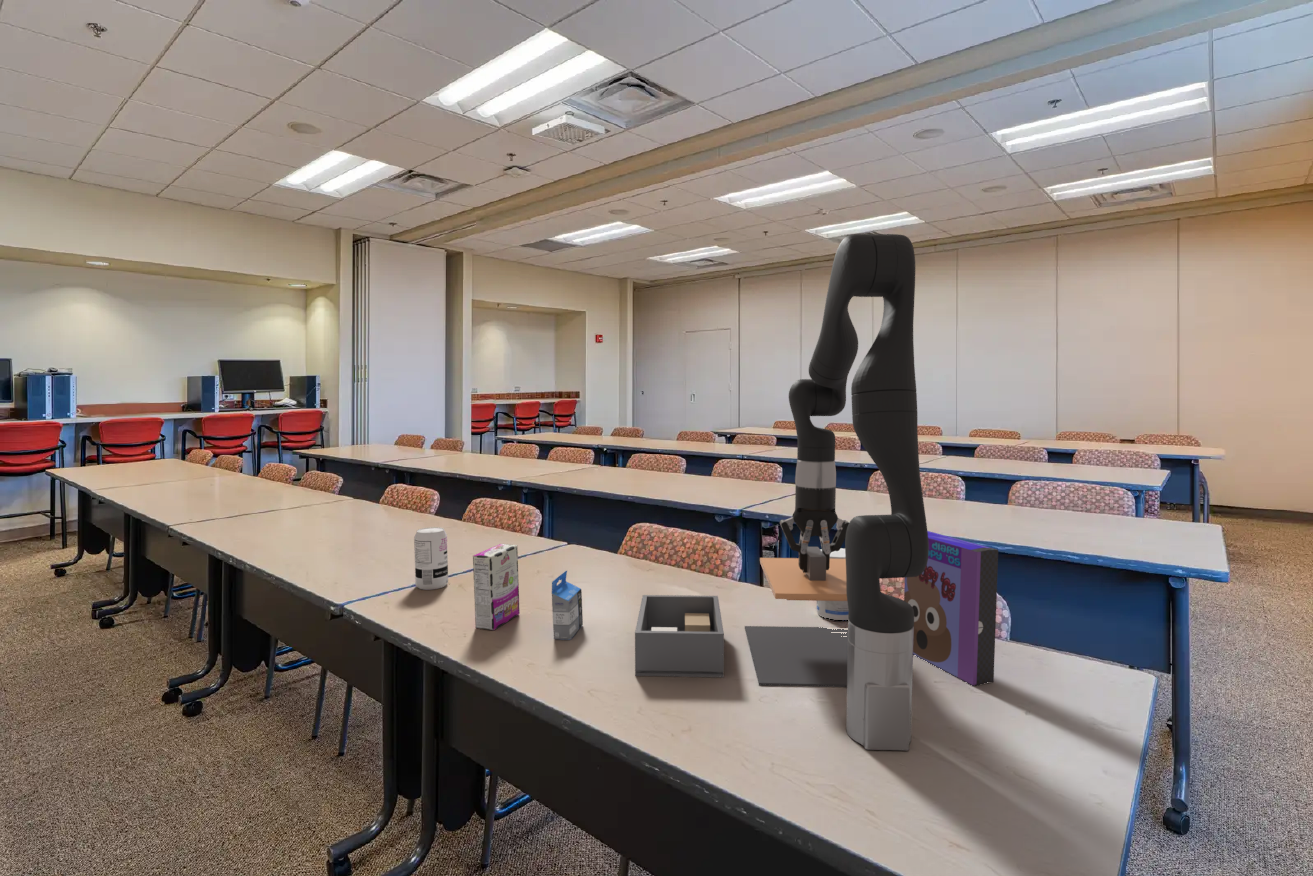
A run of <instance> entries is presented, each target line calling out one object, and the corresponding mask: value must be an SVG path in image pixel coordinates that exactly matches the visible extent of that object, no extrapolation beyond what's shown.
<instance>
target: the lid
mask: <svg viewBox="0 0 1313 876" xmlns="http://www.w3.org/2000/svg"><path fill="white" fill-rule="evenodd" d="M806 553H807V573H803V571H802V570H801V569H800V568H799V557H798V558H797V557H759V564H760V565H761V568H762V571H763V573H764V576H765V578H766V580H767V583H768V585H769V587H770V590H771V592H772V594H773V598H774V600H786V601H808V602H809V601H813V602H814V601H816V602H817V601H847V593H846V559H830V562H829V563H830V564H829V570H826V556H825V555H824V554H823V553H822V551H821V550H820V547H819V546H808V548H807V552H806Z"/></svg>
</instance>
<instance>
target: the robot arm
mask: <svg viewBox="0 0 1313 876" xmlns="http://www.w3.org/2000/svg"><path fill="white" fill-rule="evenodd" d="M829 277H830V278H829V282H828V288H827V293H826V298H825V305H824V312H823V317H822V323H821V328H820V333H819V337H818V339H817V343H816V345H815V348H814V349H813V350H814V351H813V352H812V353H813V354H812V356H811V360H810V361H809V364H808V375H809V377H810V378H804V379H797V380H795V381H794V382H793V383H792V385H791V386H790V387H789V391H788V402H789V407H790V411H791V413H792V416H793V421H794V424H795V431H796V437H797V452H796V453H797V457H796V458H797V460H796V467H795V477H794V482H795V492H794V493H795V498H794V499H795V500H794V501H795V502H794V503H795V506H794V512H793V514H792V515H791V516H792V517H789V518H787V519H781V520H780V521H779V524H780V527H781V529H782V532H783V535H784V536H785V538H786V541H787V544H788V546H789V548H790V549H791V550H792V551H795V552H797V553H798V558H799V568H800V569H801V570H802V571H803V573H807V553H806V552H807V548H808V547H809V543H810V541H811V537H819V540H820V546H821V549H822V553H823V554H824V555H825V556H826V570H829V564H830V563H829V562H830V553H831V552H834V551H839V550H840V548H842V546H843V544H844V545H845V546H844V549H845V556H846V593H847V602H848V621H847V622H848V623H847V625H848V658H847V687H846V718H845V720H846V724H845V725H846V726H845V730H846V733H847V735H848V736H849V737H850V739H852V740H854V741H855V742H856V743H859V744H861V745H862V746H863V748H864V749H865V750H869V751H870V750H871V751H872V750H873V751H874V750H879V751H909V750H910V743H911V740H912V718H913V717H912V709H913V705H912V702H913V667H914V666H913V665H914V659H913V658H914V655H913V638H914V610H913V608H912V606H911V605H910V604H908V603H907V602H905V601H904V599H901V598H899V597H896V596H893V595H890V594H887V593H884V592H882V590H881V585H880V582H881V581H880V579H899V578H900V579H901V578H904V579H905V577H915V576H919V575H920V574H922V573H923V571H924V570H925V568H926V565H927V562H928V553H929V542H928V532H927V531H928V525H927V524H928V523H927V519H926V518H927V517H926V510H925V509H926V508H925V502H924V495H923V489H922V488H923V487H922V481H921V480H922V479H921V471H920V469H921V468H920V457H919V456H920V455H919V453H920V452H919V436H918V433H919V431H918V427H919V426H918V398H917V397H918V396H917V394H918V393H917V381H916V372H915V371H916V370H915V369H916V368H915V348H914V346H915V345H914V314H915V295H916V293H915V291H916V290H915V289H916V254H915V249H914V246H913V243H912V241H911V239H910V238H909V237H908V236H907V235H904V234H895V233H884V234H883V233H874V234H873V233H857V234H850V235H846V236H845V237H844V238H843V239H842V240H841V242H840V243H839V245H838V247H837V249H836V252H835V255H834V258H833V262H832V266H831V271H830V276H829ZM853 297H856V298H857V297H858V298H859V297H861V298H863V297H864V298H881V297H882V301H883V312H882V321H881V325H880V329H879V330H878V332H877V335H876V337H875V339H874V341H873V343H872V345H871V347H870V348H869V349H868V351H867V353H866V354H865V356H864V358H863V359H862V361H861V363H860V364H859V366H858V369H856V371H855V374H854V377H853V380H852V383H851V386H850V387H851V392H850V393H851V418H852V426H853V429H854V432H855V435H856V437H857V438H858V440H859V442H860V444H861V445H862V446H863V448H864V449H865V450H866V452H867V454H868V456H869V458H871V461H873V463H874V465H876V467H877V469H878V470H879V472H880V475H882V477H883V479H884V482H885V485H886V488H887V491H888V496H889V501H890V510H891V513H890V514H868V515H867V514H866V515H857V516H854V517H853V518H852V519H850V521H848V520H846V519H841V518H840V517H838V514H837V512H836V499H837V498H836V497H837V493H836V492H837V491H836V490H837V489H836V488H837V486H836V485H837V471H836V470H837V469H836V435H835V432H834V431H832V430H830V429H827V428H823V427H822V428H821V427H817V426H815V425H814V424H813V422H812V420H811V417H833V416H836V415H838V414H840V413H841V412H842V411H843V410H844V409H845V408H846V402H847V382H848V376H849V374H850V371H851V369H852V367H853V365H854V362H855V360H856V357H857V354H858V350H859V338H858V334H857V331H856V328H855V326H854V323H853V322H852V318H851V317H850V314H849V313H850V312H849V304H850V302H851V300H852V298H853ZM794 523H795V525H796V526H797V528H798V529H799V530H800V535H799V542H798V543H797V542H796V540H795V538H794V536H793V533H792V530H793V528H794V526H793V525H794ZM835 524H836V526H835ZM834 526H835V527H836V529H837V531H836V533H835V535H834V537H833V540H832V541H831V543H830V536H829V533H830V531H831V530H832V529H833V528H834Z"/></svg>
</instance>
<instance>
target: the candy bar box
mask: <svg viewBox="0 0 1313 876" xmlns="http://www.w3.org/2000/svg"><path fill="white" fill-rule="evenodd" d="M518 553H519V552H518V545H517V544H511V543H510V544H508V543H499V544H497V545H495V546H493V547H490V548H488V549H485V550H483V551H480V552H479V553H476V554H474V555H472V564H473V566H472V567H473V592H474V616H475V618H474V620H475V624H474V625H475V629H478V630H479V629H480V630H487V631H495V630H497V629H498V628H500V627H501V626H503V625H504V624H506V623H508V622H509V621H511V620H512V619H514V618H515V617H517V616H519V615H520V591H519V590H520V588H519V585H520V584H519V583H520V582H519V558H518V557H519V556H518Z"/></svg>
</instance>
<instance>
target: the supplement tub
mask: <svg viewBox="0 0 1313 876" xmlns="http://www.w3.org/2000/svg"><path fill="white" fill-rule="evenodd" d="M819 549H820V548H819ZM820 550H821V551H822V548H821V549H820ZM830 559H846V556H845V548H842V547H841V548H840V550H839V551H834V552H831V553H830ZM816 613H817V615H818V616H820V617H821V616H822V617H821V618H823V617H824V618H823V619H826V618H829V619H828V620H830V619H834V620H848V602H847V601H816ZM834 620H833V621H834Z"/></svg>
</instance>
